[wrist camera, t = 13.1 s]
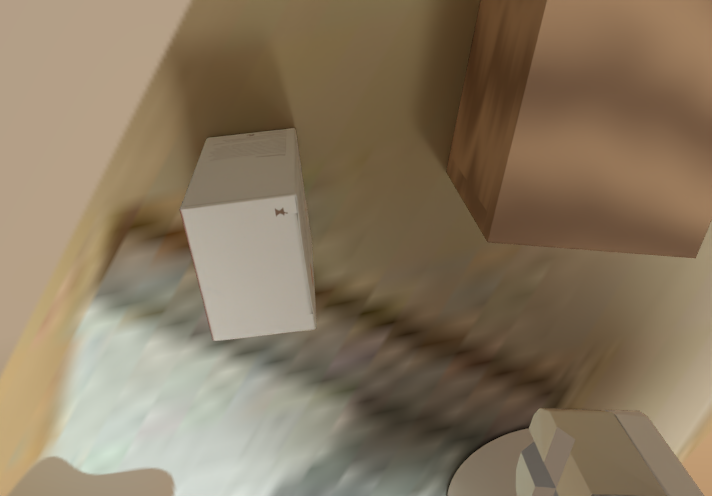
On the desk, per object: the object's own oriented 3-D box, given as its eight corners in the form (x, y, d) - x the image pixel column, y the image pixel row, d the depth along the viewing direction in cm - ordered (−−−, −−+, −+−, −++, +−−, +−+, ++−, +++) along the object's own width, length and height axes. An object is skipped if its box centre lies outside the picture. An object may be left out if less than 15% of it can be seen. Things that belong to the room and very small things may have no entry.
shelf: (611, 186, 42) (695, 258, 33) (446, 171, 40) (487, 242, 32) (689, -46, 35) (818, -35, 27) (495, -74, 34) (564, -73, 25)
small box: (205, 135, 38) (175, 204, 29) (297, 125, 38) (297, 191, 29) (229, 250, 42) (210, 345, 32) (313, 241, 42) (317, 332, 33)
